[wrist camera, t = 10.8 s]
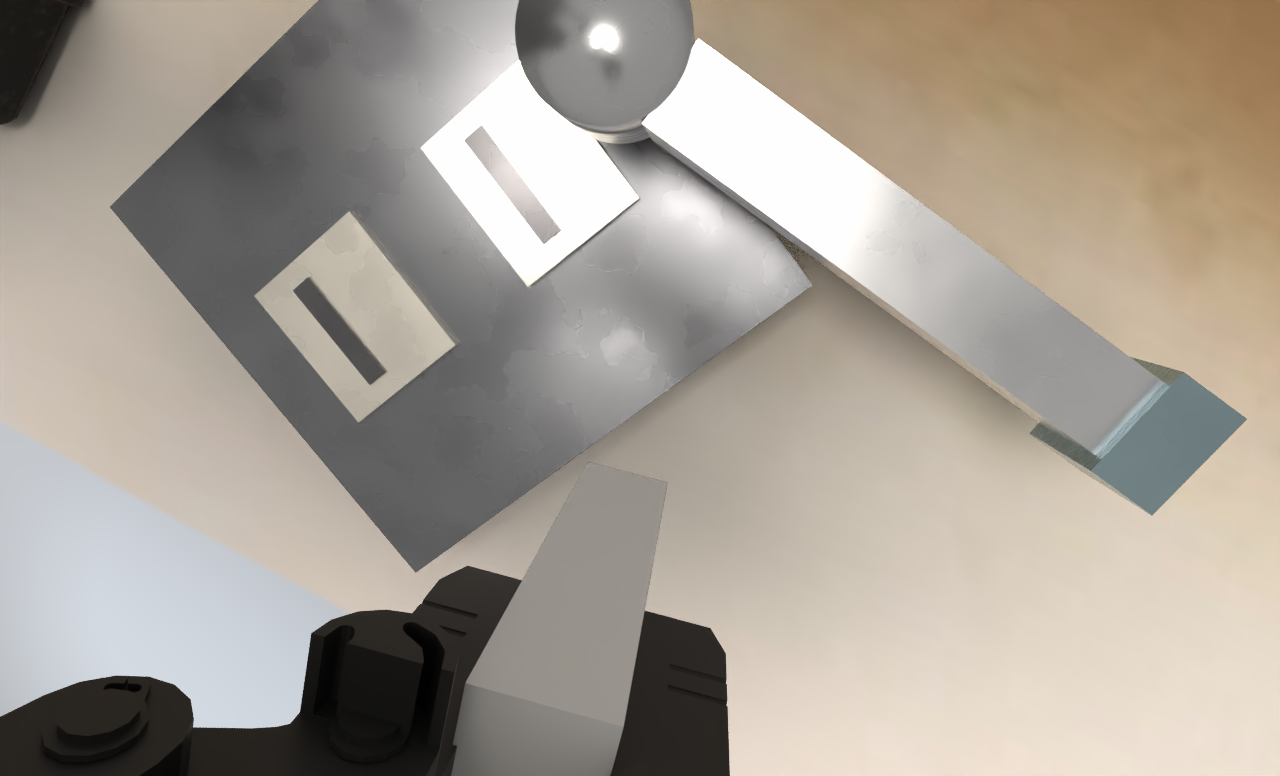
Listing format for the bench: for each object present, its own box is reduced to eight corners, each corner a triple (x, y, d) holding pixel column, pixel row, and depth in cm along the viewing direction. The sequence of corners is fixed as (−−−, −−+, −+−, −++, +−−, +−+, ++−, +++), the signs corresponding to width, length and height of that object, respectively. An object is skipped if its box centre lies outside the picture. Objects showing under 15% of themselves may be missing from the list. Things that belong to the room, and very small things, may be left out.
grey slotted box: (169, 210, 29) (35, 202, 24) (523, -131, 25) (467, -241, 20) (443, 541, 31) (381, 611, 25) (813, 272, 27) (840, 281, 21)
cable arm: (1067, 485, 22) (1134, 532, 18) (519, 87, 21) (480, 56, 18) (1172, 373, 21) (1265, 400, 17) (602, -50, 20) (578, -112, 17)
